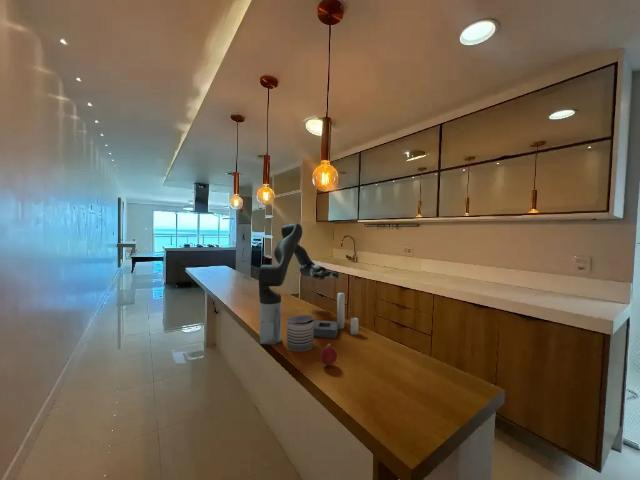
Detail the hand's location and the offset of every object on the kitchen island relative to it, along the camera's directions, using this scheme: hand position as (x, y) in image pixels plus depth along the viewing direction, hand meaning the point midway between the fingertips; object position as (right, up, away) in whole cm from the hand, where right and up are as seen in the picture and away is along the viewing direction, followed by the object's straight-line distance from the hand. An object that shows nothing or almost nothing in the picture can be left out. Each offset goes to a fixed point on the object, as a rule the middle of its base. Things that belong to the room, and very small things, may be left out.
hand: (331, 276), depth 148 cm
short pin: (+10, -25, -17) cm, 32 cm away
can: (-14, -25, -31) cm, 43 cm away
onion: (-3, -26, -49) cm, 55 cm away
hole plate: (-4, -24, -16) cm, 29 cm away
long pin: (+5, -24, -9) cm, 26 cm away
